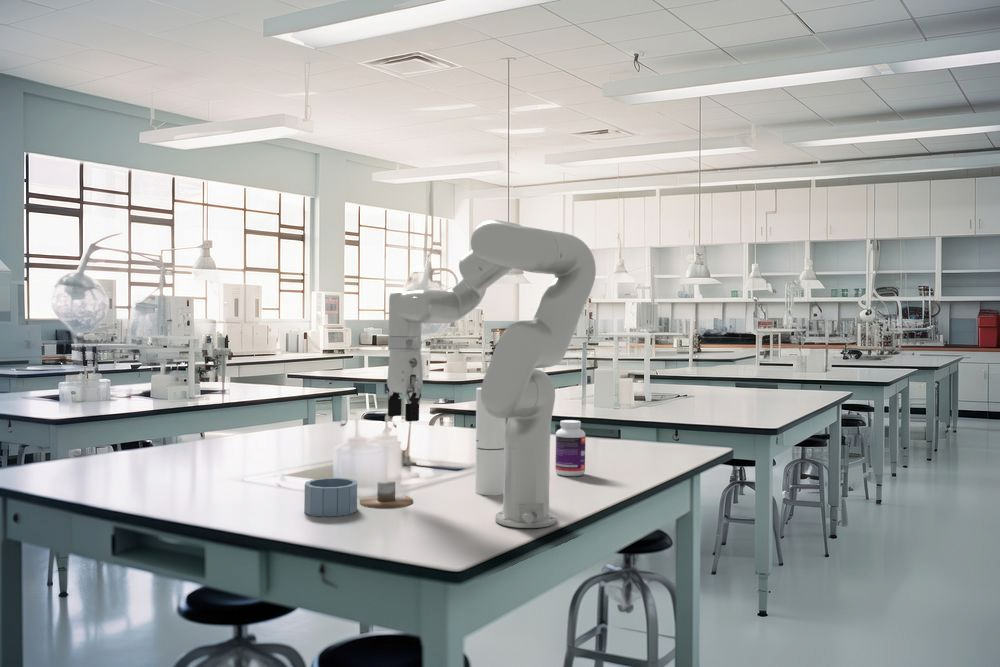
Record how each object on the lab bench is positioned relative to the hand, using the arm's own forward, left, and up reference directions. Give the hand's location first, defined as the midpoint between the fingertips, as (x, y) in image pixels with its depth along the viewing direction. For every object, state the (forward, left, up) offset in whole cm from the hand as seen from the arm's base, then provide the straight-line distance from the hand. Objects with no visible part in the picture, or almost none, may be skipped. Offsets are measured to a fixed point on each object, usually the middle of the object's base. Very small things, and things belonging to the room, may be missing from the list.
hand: (403, 418), depth 190 cm
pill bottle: (+24, -46, -19) cm, 55 cm away
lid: (-4, +4, -19) cm, 20 cm away
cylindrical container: (+4, -21, -19) cm, 29 cm away
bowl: (-11, +16, -19) cm, 27 cm away
